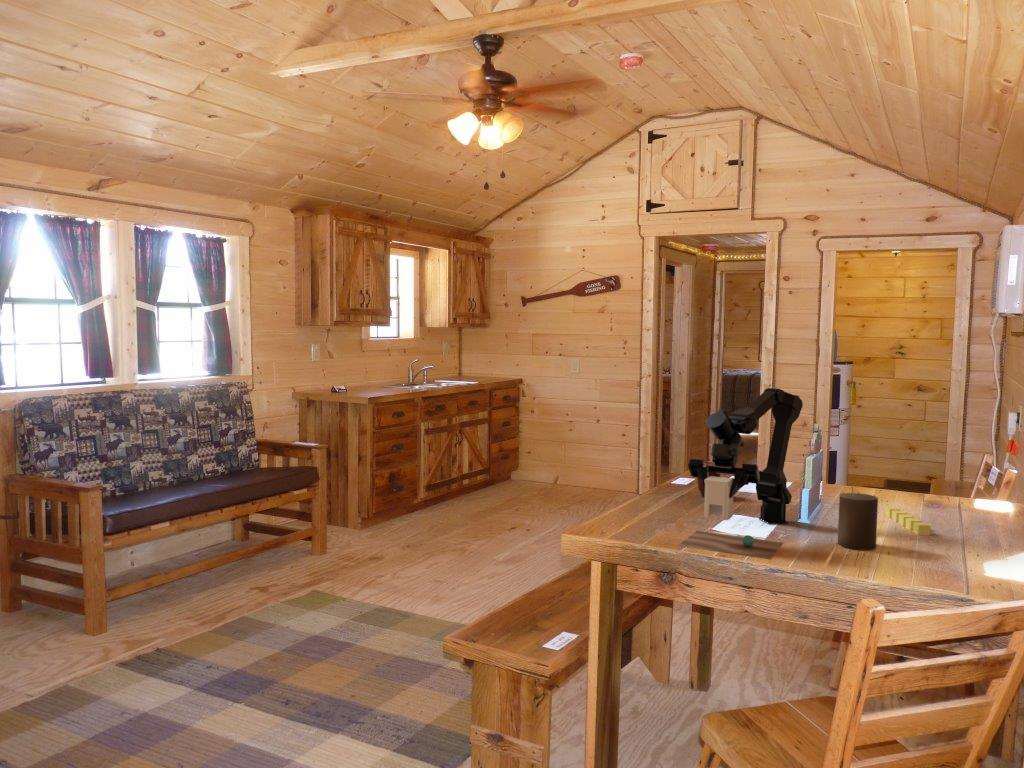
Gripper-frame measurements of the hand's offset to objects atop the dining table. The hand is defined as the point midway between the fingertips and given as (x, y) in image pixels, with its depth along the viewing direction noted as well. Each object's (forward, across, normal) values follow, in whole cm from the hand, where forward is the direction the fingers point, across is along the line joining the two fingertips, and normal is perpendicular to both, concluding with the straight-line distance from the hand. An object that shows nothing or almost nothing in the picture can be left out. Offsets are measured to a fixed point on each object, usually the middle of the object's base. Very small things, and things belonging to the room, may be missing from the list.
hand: (717, 495), depth 212 cm
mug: (-32, -18, +52) cm, 63 cm away
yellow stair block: (-28, +46, +48) cm, 72 cm away
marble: (+7, +8, +9) cm, 14 cm away
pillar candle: (-4, +33, +24) cm, 41 cm away
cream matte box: (+3, 0, +5) cm, 6 cm away
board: (+9, +4, +11) cm, 14 cm away
